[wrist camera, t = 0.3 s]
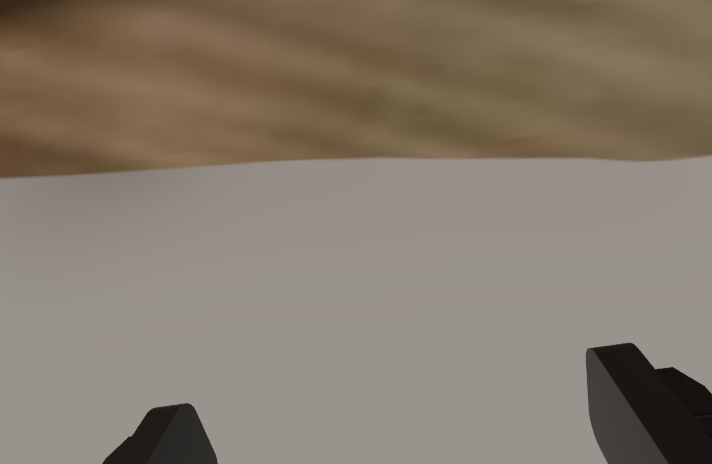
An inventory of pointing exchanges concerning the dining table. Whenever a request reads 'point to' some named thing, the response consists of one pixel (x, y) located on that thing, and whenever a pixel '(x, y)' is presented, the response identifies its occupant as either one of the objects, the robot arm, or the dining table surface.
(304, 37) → the dining table surface
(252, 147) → the dining table surface
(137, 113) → the dining table surface
